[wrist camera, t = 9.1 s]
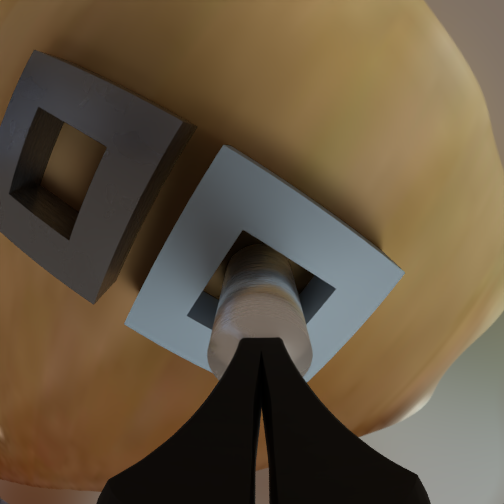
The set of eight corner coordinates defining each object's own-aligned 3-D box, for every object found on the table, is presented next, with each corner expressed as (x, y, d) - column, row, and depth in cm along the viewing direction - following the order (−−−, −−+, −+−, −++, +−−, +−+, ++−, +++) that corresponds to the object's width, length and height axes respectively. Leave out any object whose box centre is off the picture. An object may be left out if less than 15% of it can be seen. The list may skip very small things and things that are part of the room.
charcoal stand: (8, 200, 15) (-21, 211, 12) (63, 59, 12) (34, 49, 9) (115, 280, 17) (93, 304, 14) (197, 126, 14) (183, 121, 11)
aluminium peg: (212, 273, 16) (185, 354, 10) (261, 230, 15) (265, 294, 9) (256, 315, 17) (255, 406, 11) (305, 278, 16) (332, 360, 10)
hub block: (142, 297, 17) (124, 323, 14) (230, 145, 14) (223, 144, 11) (280, 371, 19) (283, 404, 16) (382, 251, 16) (405, 272, 13)
